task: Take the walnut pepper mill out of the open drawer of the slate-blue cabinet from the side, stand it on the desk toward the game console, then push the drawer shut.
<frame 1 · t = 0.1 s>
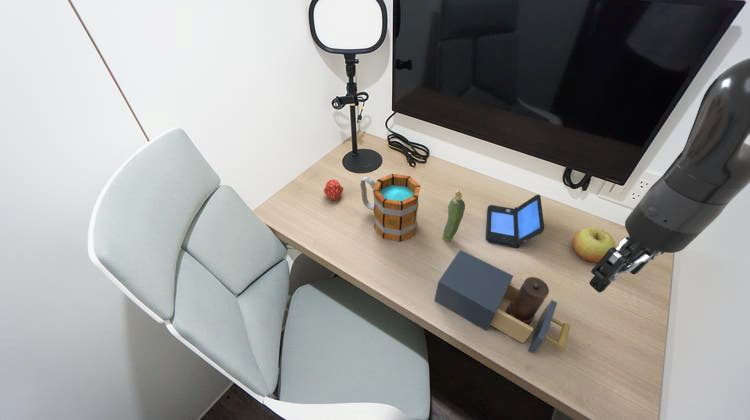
hand: (612, 278, 54), 24 cm above the table, tool pointing down, fingers open, 8 cm apart
apple: (586, 253, 89), on the table
pepper mill: (516, 318, 73), point 2 cm above the table, touching drawer
red bumpy fruit: (334, 196, 108), on the table
vegetable: (449, 240, 93), on the table
mug: (387, 221, 99), on the table
cabinet: (469, 297, 79), on the table
drawer: (526, 317, 71), point 4 cm above the table, slide at 9.0 cm, touching pepper mill
game console: (508, 228, 96), on the table
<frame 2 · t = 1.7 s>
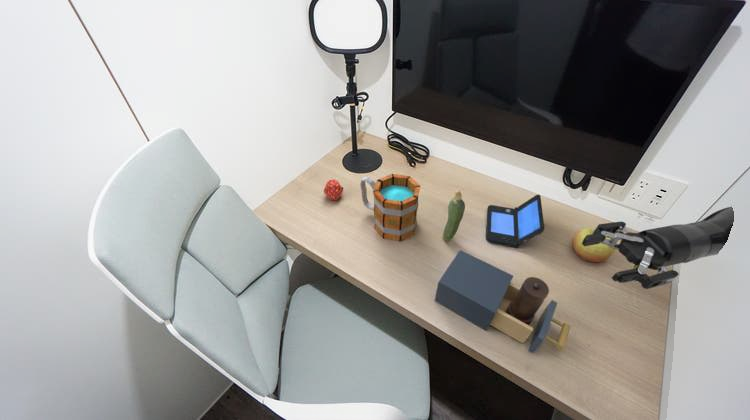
hand: (598, 258, 61), 22 cm above the table, tool horizontal, fingers open, 8 cm apart
nothing on the table moved.
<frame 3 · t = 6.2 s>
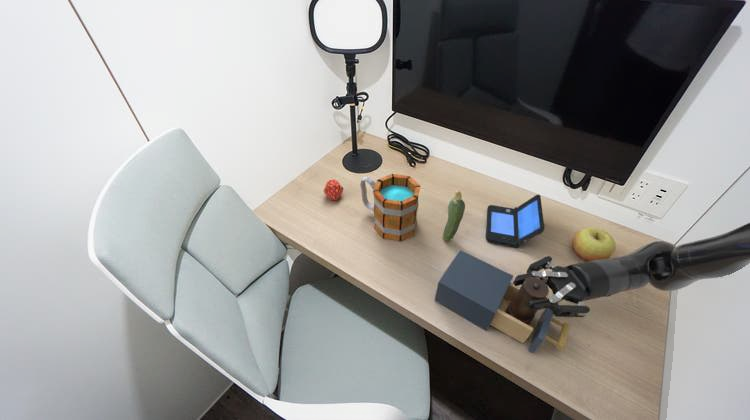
hand: (522, 293, 64), 14 cm above the table, tool horizontal, fingers closed on pepper mill, 5 cm apart
pepper mill: (516, 318, 73), point 2 cm above the table, touching drawer, gripper
everything else where it was.
when the fingers open (12 cm above the table, at t = 16.3 s): pepper mill stays where it is, on the table.
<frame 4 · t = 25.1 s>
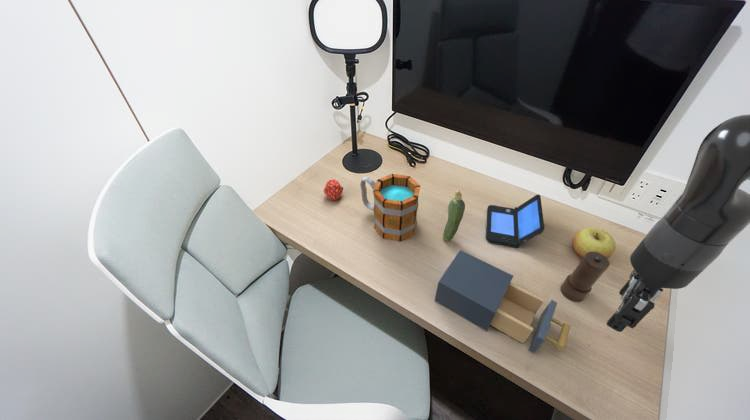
hand: (619, 310, 56), 19 cm above the table, tool pointing down, fingers open, 8 cm apart
pepper mill: (572, 291, 80), on the table
drawer: (526, 317, 71), point 4 cm above the table, slide at 9.0 cm
everything else where it was.
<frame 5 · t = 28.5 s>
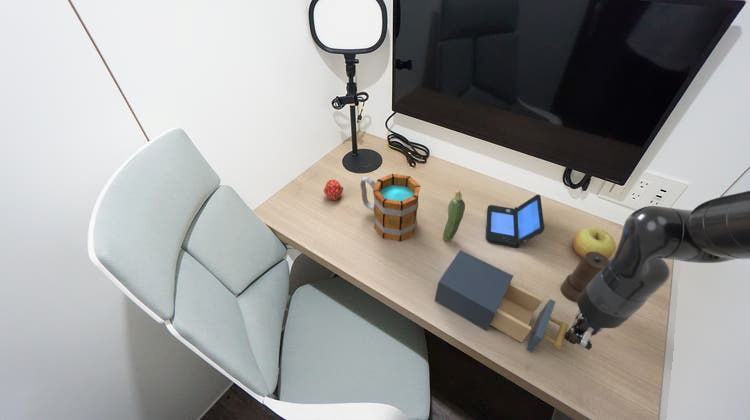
hand: (570, 338, 67), 5 cm above the table, tool pointing down, fingers closed
drawer: (524, 316, 71), point 4 cm above the table, slide at 8.6 cm, touching gripper
everything else where it was.
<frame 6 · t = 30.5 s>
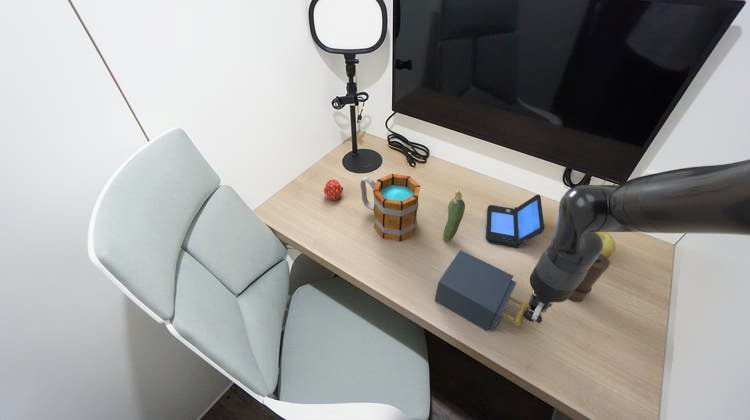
hand: (528, 317, 70), 5 cm above the table, tool pointing down, fingers closed
drawer: (487, 296, 75), point 4 cm above the table, slide at 0.0 cm, touching cabinet, gripper
everything else where it was.
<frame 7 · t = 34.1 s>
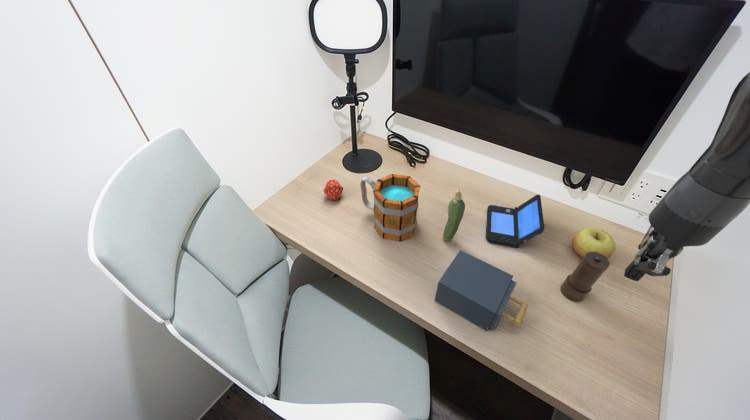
hand: (630, 275, 56), 23 cm above the table, tool pointing down, fingers closed
drawer: (487, 296, 75), point 4 cm above the table, slide at 0.0 cm
everything else where it was.
at the end: pepper mill 24.1 cm from the game console (horizontally); pepper mill tilted 0°; drawer slide at 0.0 cm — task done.
